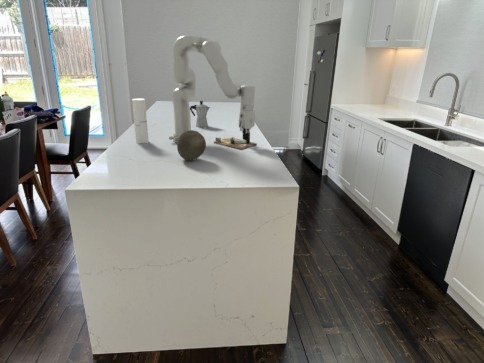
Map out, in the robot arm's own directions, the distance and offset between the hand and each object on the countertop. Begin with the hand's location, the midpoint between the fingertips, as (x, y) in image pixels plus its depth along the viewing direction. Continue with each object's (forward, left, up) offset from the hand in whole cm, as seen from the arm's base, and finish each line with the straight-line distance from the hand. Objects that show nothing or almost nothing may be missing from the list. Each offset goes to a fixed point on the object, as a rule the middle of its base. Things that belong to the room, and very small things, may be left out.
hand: (245, 139), depth 197 cm
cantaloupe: (-39, +3, -4) cm, 39 cm away
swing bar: (0, +4, -3) cm, 5 cm away
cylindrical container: (-36, +50, -4) cm, 62 cm away
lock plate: (0, +8, -4) cm, 9 cm away
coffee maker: (+18, +57, -4) cm, 60 cm away
